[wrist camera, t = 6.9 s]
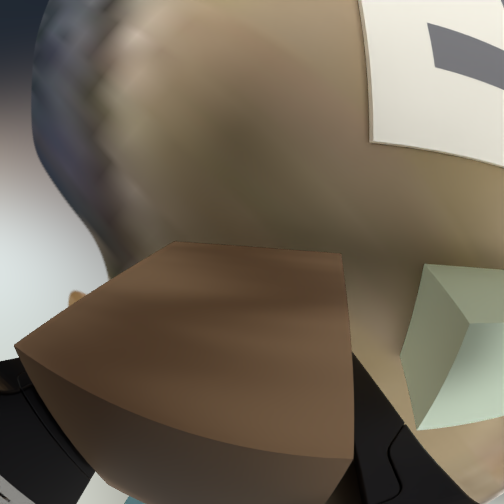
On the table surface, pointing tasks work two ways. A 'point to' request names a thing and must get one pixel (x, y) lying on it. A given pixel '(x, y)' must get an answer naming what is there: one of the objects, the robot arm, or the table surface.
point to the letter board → (436, 75)
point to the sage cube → (456, 347)
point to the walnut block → (207, 376)
